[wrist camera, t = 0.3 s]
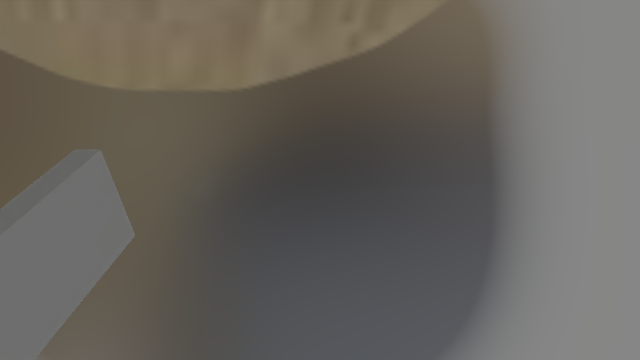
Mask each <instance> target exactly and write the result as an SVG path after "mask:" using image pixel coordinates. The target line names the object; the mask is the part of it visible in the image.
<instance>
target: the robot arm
mask: <svg viewBox="0 0 640 360" xmlns="http://www.w3.org/2000/svg"><path fill="white" fill-rule="evenodd" d="M134 236H135V234H134V232H133V229H132V227H131V224H130V222H129V219H128V217H127V214H126V212H125V209H124V207H123V204H122V202H121V200H120V197H119V195H118V192H117V190H116V187H115V185H114V182H113V180H112V177H111V175H110V172H109V170H108V167H107V165H106V162H105V160H104V157H103V155H102V152H101V150H74V151H73V152H71V153H70V154H69V155H68V156H66V157H65V158H64V159H63V160H61V161H60V162H59V163H58V164H56V165H55V166H54V167H53V168H51V169H50V170H49V171H48V172H46V173H45V174H44V175H42V176H41V177H40V178H39V179H37V180H36V181H35V182H34V183H32V184H31V185H30V186H29V187H28V188H26V189H25V190H24V191H23V192H21V193H20V194H19V195H17V196H16V197H15V198H14V199H12V200H11V201H10V202H9V203H7V204H6V205H5V206H4V207H2V208H1V209H0V360H34V359H35V358H36V357H37V356H38V354H39V353H40V352H41V351H42V349H43V348H44V347H45V346H46V345H47V343H48V342H49V341H50V340H51V338H52V337H53V336H54V335H55V333H56V332H57V331H58V330H59V329H60V327H61V326H62V325H63V323H64V322H65V321H66V320H67V319H68V317H69V316H70V315H71V314H72V313H73V311H74V310H75V309H76V308H77V306H78V305H79V304H80V303H81V301H82V300H83V299H84V298H85V296H86V295H87V294H88V293H89V292H90V290H91V289H92V288H93V287H94V285H95V284H96V283H97V282H98V280H99V279H100V278H101V277H102V276H103V274H104V273H105V272H106V271H107V269H108V268H109V267H110V266H111V264H112V263H113V262H114V261H115V260H116V258H117V257H118V256H119V255H120V253H121V252H122V251H123V250H124V248H125V247H126V246H127V245H128V243H129V242H130V241H131V240H132V238H133V237H134Z"/></svg>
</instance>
